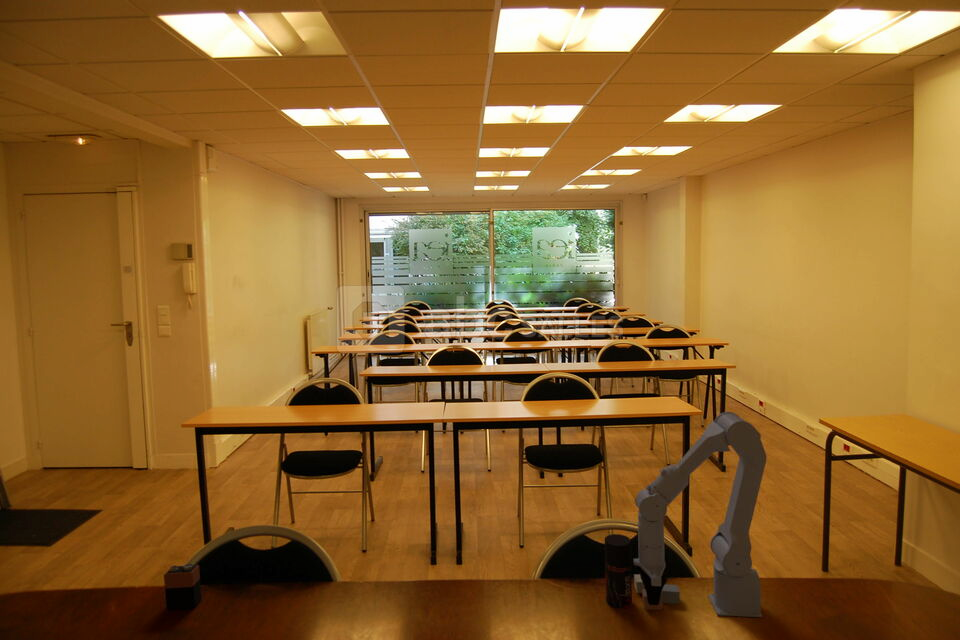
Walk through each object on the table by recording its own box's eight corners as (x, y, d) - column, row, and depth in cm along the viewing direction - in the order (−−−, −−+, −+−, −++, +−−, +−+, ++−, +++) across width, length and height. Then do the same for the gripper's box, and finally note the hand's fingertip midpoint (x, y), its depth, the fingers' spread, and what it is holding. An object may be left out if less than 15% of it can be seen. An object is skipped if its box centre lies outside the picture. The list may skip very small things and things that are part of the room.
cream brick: (659, 586, 140) (658, 574, 140) (662, 594, 136) (662, 582, 136) (634, 586, 140) (633, 574, 140) (636, 593, 137) (636, 582, 137)
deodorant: (626, 611, 129) (624, 548, 128) (601, 603, 133) (600, 541, 132) (636, 599, 134) (634, 538, 133) (612, 592, 138) (611, 532, 137)
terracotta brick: (660, 602, 133) (660, 590, 132) (662, 609, 130) (662, 597, 129) (642, 601, 133) (642, 589, 133) (644, 609, 130) (644, 596, 130)
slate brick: (677, 597, 135) (676, 584, 135) (679, 604, 132) (679, 591, 132) (659, 596, 135) (659, 584, 135) (661, 603, 132) (661, 591, 132)
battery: (194, 609, 138) (191, 569, 137) (165, 611, 137) (162, 571, 137) (202, 599, 142) (199, 560, 141) (174, 601, 142) (171, 562, 141)
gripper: (629, 528, 138) (630, 582, 139) (637, 557, 124) (638, 617, 125) (659, 529, 137) (660, 583, 138) (670, 558, 123) (671, 619, 124)
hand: (652, 599), depth 131 cm, fingers closed on terracotta brick, 3 cm apart
